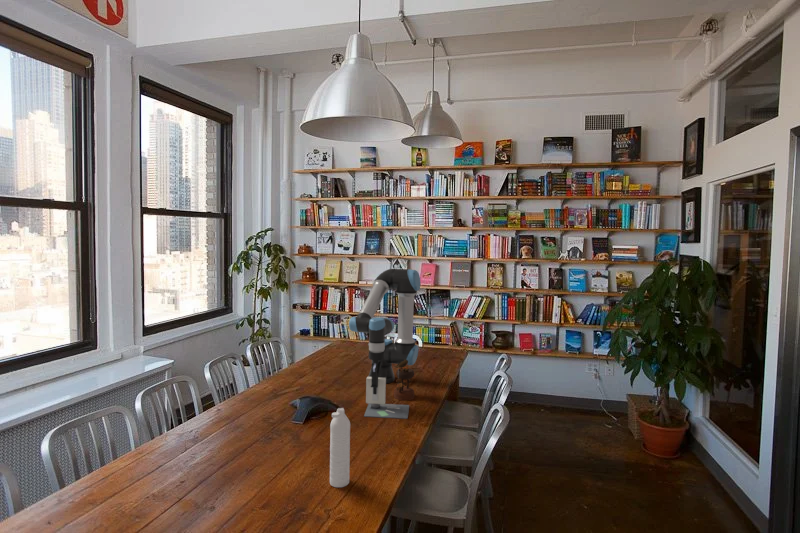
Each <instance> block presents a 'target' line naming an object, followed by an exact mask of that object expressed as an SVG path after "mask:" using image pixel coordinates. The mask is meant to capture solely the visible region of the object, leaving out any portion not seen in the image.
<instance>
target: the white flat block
mask: <svg viewBox="0 0 800 533" xmlns="http://www.w3.org/2000/svg"><path fill="white" fill-rule="evenodd" d="M371 385H372V377H369V376H367V377H366V381H365V387H366V388H365V404H369V403H371V407H372V408H380V406H391V407H396V404H394V403H386V400H387V398H386V394H387V392H386V391H387V390H386V388H387V387H386V385H387V383H386V378H382V377H378V401H373V400H372V387H371Z"/></svg>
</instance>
